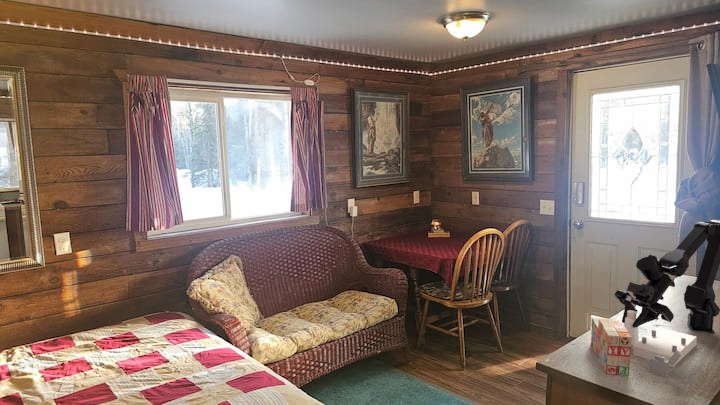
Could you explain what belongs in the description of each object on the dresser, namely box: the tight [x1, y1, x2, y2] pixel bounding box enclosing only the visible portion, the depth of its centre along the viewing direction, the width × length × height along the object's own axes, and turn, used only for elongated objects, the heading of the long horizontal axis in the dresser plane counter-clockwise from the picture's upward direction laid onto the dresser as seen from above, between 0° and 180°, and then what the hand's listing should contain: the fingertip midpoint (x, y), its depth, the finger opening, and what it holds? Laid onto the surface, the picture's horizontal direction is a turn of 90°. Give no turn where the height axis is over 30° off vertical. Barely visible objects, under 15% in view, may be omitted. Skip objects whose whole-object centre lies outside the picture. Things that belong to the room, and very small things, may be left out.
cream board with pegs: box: [632, 326, 697, 368], centre depth 153 cm, size 22×11×5 cm, turn 130°
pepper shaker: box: [623, 310, 640, 347], centre depth 158 cm, size 5×5×11 cm
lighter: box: [650, 350, 682, 377], centre depth 137 cm, size 7×2×8 cm, turn 53°
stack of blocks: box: [590, 317, 632, 377], centre depth 148 cm, size 21×6×12 cm, turn 165°
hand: (627, 324), depth 158 cm, fingers closed on pepper shaker, 4 cm apart
